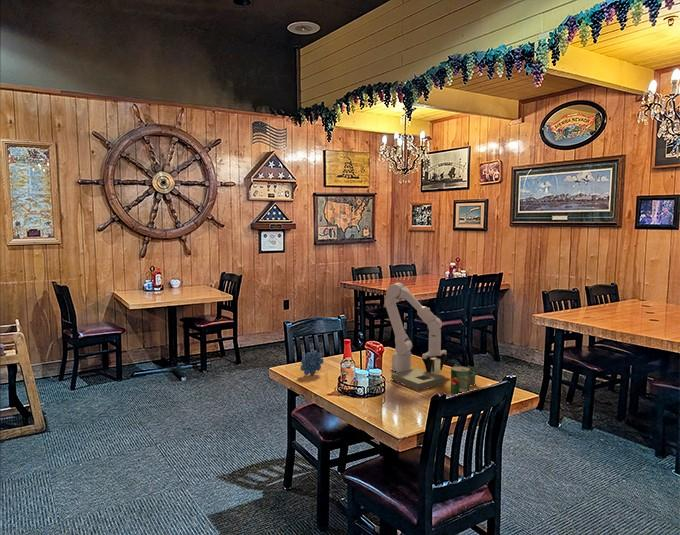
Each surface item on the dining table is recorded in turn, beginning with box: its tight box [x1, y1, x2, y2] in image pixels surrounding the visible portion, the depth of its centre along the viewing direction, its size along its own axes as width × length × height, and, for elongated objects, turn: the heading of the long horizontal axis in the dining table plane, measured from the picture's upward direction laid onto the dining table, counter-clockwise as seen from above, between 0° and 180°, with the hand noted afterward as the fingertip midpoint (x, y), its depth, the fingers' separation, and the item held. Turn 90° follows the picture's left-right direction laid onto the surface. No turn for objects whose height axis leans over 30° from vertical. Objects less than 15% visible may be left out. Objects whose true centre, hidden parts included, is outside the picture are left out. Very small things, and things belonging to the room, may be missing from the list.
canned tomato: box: [450, 365, 471, 396], centre depth 215 cm, size 8×8×11 cm
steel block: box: [430, 357, 441, 376], centre depth 241 cm, size 4×4×8 cm
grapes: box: [300, 350, 325, 376], centre depth 242 cm, size 12×7×12 cm, turn 109°
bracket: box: [453, 363, 479, 387], centre depth 229 cm, size 9×9×9 cm
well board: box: [390, 368, 445, 391], centre depth 231 cm, size 18×16×3 cm
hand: (434, 371), depth 241 cm, fingers open, 7 cm apart
